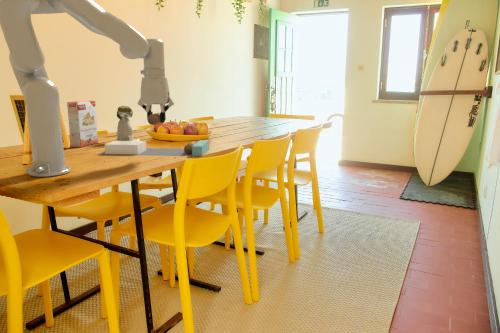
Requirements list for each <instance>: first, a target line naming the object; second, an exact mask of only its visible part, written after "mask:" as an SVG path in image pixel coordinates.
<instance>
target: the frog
mask: <svg viewBox="0 0 500 333" xmlns="http://www.w3.org/2000/svg"><path fill="white" fill-rule="evenodd" d="M133 114H134V111H133V109H132V108H131V107H130V106H127V105H121V106H119V107H117V111H116V117H117V119H119V121H118V123H117V129H116V139H114V140H113V141H142V140H141V139H140V138H137V139H135V137H133V134H134V129H133V125H132V122H131V120H130V118H132V117H133Z"/></svg>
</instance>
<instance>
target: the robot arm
mask: <svg viewBox="0 0 500 333" xmlns="http://www.w3.org/2000/svg"><path fill="white" fill-rule="evenodd" d="M62 13H63V14H64V13H65V14H67V15H69V16H70V17H71V18H73V19H74V20H76V22H78V23H79V24H81V25H82V26H84V27H85V28H86V29H87V30H89V31H91V32H92V33H94V34H97V35H99V36H103V37H106V38H108V39H110V40H112V41H114V42H115V43H117V44H118V45H119V52H120V54H121V55H122V56H123V57H124V58H126V59H128V60H137V59H143V69H142V70H140V74H141V75H143V76H144V77H141V82H140V97H139V100H138V102H137V105H138V106H140V107H142V109H144V111H145V112H146V120H147V121H148V116H149V115H151V114H154V113H153V111H152V107H153V106H152V105H159V106H160V112H159V113H160V123H159V124H163V123H165V122H166V120H167V118H166V112H167V111H168V110H169V109H170V108H172V107H173V106H175V103H174V101H173V99H172V98H171V96H170V89H169V87H170V86H169V82H168V78H167V77H166V71H165V70H166V69H165V45H164V42H163V40H162V39H159V38H145V37H144V35H142V34H141V33H140V32H139V31H137V30H136V29H135V28H134V27H132V26H131V25H130V24H128V23H127V22H126V21H124V20H123V19H120V17H119V18H118V17H117V16H116V15H114V14H112V13H111V12H108V11H107V10H105V8H103V7H101V6H100V5H99V4H98V3H96V1H94V0H0V28H1V31H2V33H3V36H4V39H5V43H6V45H7V48H8V51H9V54H8V55H9V56H8V57H9V58H8V60H9V63H10V67H11V68H12V71H13V75H14V76H15V79H16V81H17V84H18V86H19V89H20V92H21V94H22V96H23V97H24V99H25V105H26V118H27V124H28V131H29V132H28V133H29V142H30V148H31V156H32V162H31V166H29V167H26V168H25V172H26V173H27V174H28V175H29V176H32V177H39V178H40V177H42V178H43V177H45V178H46V177H56V176H61V175H65V174H68V173H69V172H71V171H72V169H71V167H70V166H69V165H66V160H65V159H66V158H65V150H64V140H63V130H62V123H61V113H60V109H61V108H60V92H59V89H58V87H57V86H56V83H55V82H53V81H52V80H51V79H50V78H49V76H48V72H47V70H46V66H45V61H46V60H45V54H44V52H43V51H42V49H41V46H40V42H39V41H38V38H37V35H36V32H35V29H34V26H33V23H32V15H43V14H44V15H45V14H47V15H48V14H51V15H52V14H62Z"/></svg>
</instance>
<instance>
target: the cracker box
mask: <svg viewBox="0 0 500 333" xmlns="http://www.w3.org/2000/svg"><path fill="white" fill-rule="evenodd" d="M66 107H67V118H68V129H69V140H70V148H83V147H87V145H88V146H91V144H92V145H96V144H98V143H99V139H98V138H99V137H98V123H97V108H96V107H97V106H96V101H95V100H75V101H74V100H73V101H67V102H66Z"/></svg>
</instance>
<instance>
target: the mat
mask: <svg viewBox="0 0 500 333" xmlns="http://www.w3.org/2000/svg"><path fill="white" fill-rule="evenodd" d="M98 155H101V156H102V155H107V156H110V155H113V156H136V155H135V154H105V150H104V151H102V152H99V153H98ZM137 156H156V157H157V156H158V157H159V156H160V157H163V156H164V157H166V156H168V157H193V156H192V154H186V153H185V152H184V148H163V147H162V148H161V147H159V148H158V147H157V148H156V147H154V148H153V147H152V148H151V147H146V151H144V152H142V153H140V154H138V155H137Z"/></svg>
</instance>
